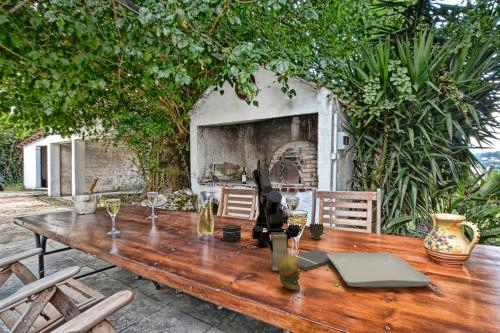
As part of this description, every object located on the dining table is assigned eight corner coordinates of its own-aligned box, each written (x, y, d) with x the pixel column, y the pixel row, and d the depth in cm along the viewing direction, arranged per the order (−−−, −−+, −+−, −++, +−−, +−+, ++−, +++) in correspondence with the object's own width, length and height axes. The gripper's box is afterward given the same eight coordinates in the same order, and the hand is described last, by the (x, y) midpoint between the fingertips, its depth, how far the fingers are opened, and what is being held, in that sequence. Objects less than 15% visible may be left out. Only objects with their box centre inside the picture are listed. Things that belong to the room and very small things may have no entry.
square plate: (325, 261, 114) (325, 252, 114) (392, 261, 113) (391, 251, 113) (346, 292, 87) (346, 279, 87) (434, 292, 86) (433, 279, 86)
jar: (244, 240, 148) (244, 226, 148) (228, 244, 142) (228, 229, 142) (235, 236, 156) (234, 223, 156) (219, 239, 150) (219, 226, 150)
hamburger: (305, 292, 87) (305, 255, 87) (285, 296, 85) (284, 257, 85) (293, 282, 95) (293, 248, 94) (274, 286, 92) (274, 250, 92)
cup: (324, 241, 144) (323, 226, 144) (309, 240, 146) (309, 225, 146) (323, 237, 151) (323, 223, 151) (309, 237, 153) (309, 222, 153)
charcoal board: (283, 261, 115) (283, 257, 115) (316, 252, 126) (316, 248, 126) (306, 271, 104) (305, 267, 104) (340, 260, 115) (339, 256, 115)
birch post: (270, 265, 107) (271, 232, 107) (283, 265, 108) (283, 232, 108) (273, 270, 102) (273, 235, 102) (286, 270, 103) (286, 235, 103)
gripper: (252, 206, 108) (257, 242, 97) (298, 204, 110) (307, 239, 99) (250, 221, 116) (254, 256, 105) (293, 220, 118) (301, 253, 107)
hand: (279, 251), depth 104 cm, fingers closed on birch post, 5 cm apart
